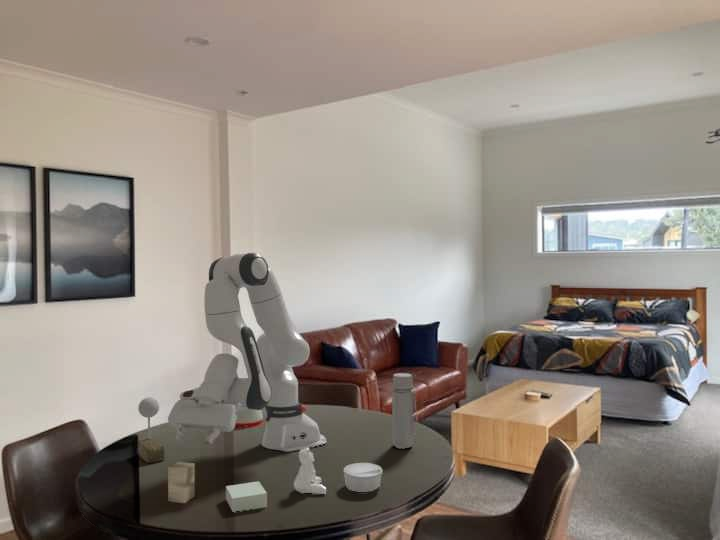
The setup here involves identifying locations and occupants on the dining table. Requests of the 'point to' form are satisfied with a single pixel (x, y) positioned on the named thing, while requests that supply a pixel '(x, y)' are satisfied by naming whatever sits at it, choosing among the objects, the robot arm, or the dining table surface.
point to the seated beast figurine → (308, 475)
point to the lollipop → (148, 409)
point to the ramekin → (362, 476)
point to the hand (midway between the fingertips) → (193, 441)
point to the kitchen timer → (249, 418)
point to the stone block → (151, 451)
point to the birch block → (181, 482)
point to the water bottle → (403, 409)
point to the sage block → (246, 496)
